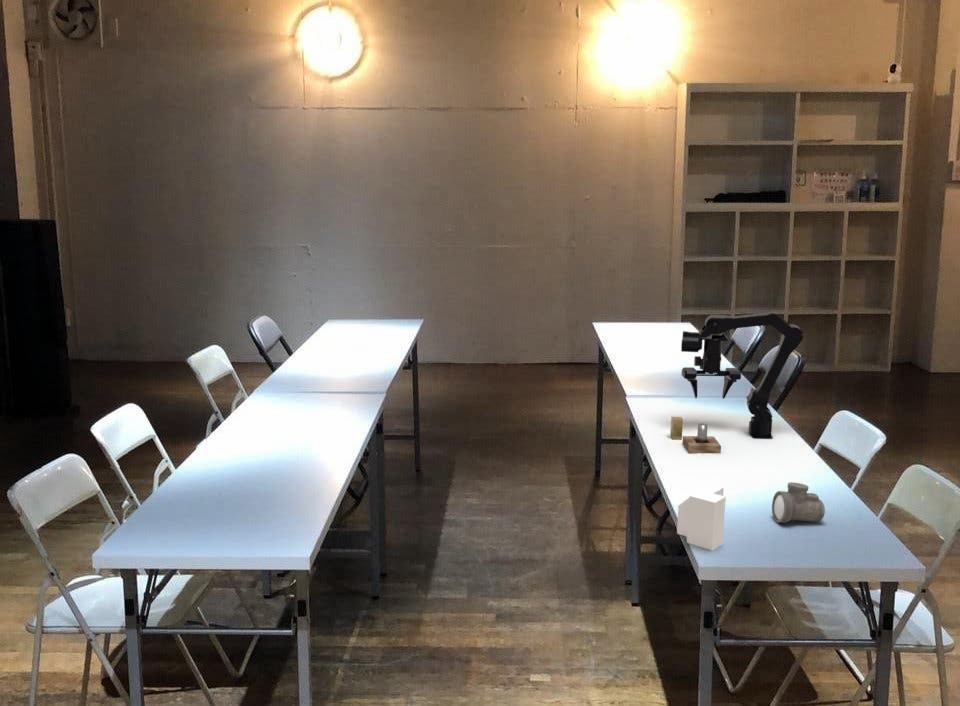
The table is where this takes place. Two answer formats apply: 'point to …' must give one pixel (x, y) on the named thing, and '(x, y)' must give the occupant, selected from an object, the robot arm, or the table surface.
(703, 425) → the cylinder
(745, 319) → the robot arm
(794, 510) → the pipe fitting
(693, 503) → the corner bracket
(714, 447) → the bore block
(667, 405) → the table surface
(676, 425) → the square bit
